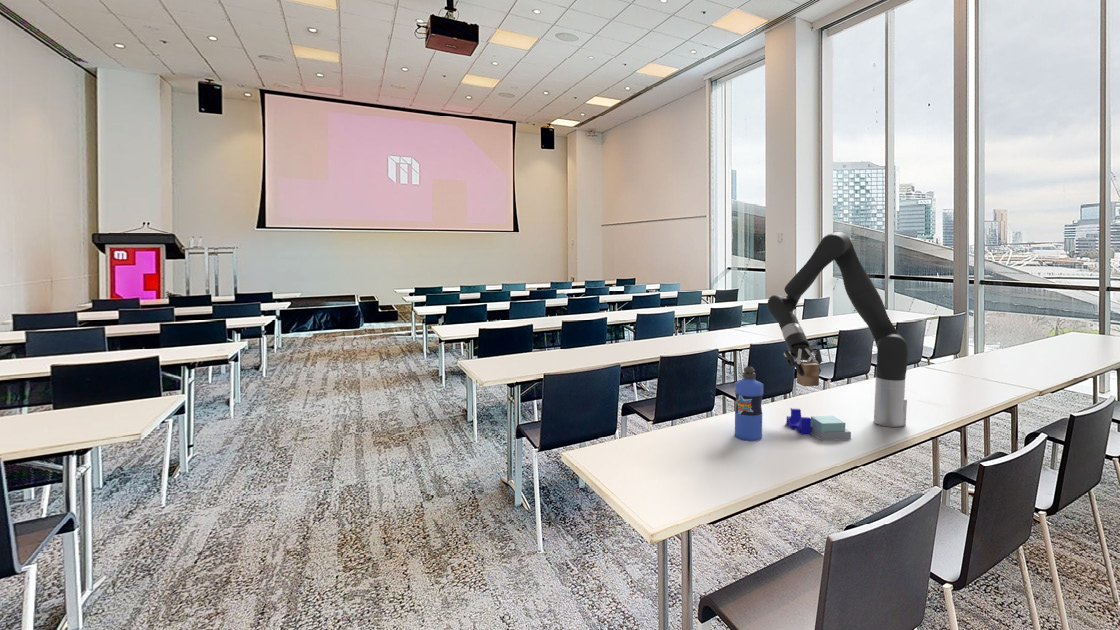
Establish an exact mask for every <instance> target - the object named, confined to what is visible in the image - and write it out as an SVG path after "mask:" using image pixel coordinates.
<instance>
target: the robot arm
mask: <svg viewBox="0 0 1120 630" xmlns="http://www.w3.org/2000/svg"><path fill="white" fill-rule="evenodd" d="M833 261H835V263H836V265H837V267H838V268H839V270H840V273H841V276H842V281H843V285H844V286H843V287H844V289H845V292H846V295H847V297H848V299H849V300H850V302H851V304H852V306H853V308H854V309H855V310H856V312H857V313H858V315H859V316H860V318H861V319H862V320H863V321H864V323H865V324H866V325H867V327H868V329H869V331H870V332H871V335H872V338H873V340H874V342H875V345H876V348H877V351H876V353H877V355H876V356H877V357H876V369H875V387H874V388H875V391H874V392H875V393H874V410H873V422H874V423H875V424H877V425H880V426H884V427H888V428H889V427H890V428H900V427H903V426H906V425H907V407H908V400H907V398H905V394H906V377H907V376H906V375H907V371H908V370H907V369H908V354H909V347H908V343H907V342H906V340H905V339H904V337H903V336H902V335H901V334H900V333H899V331H898V330H897V329H896V327H895V326H894V324H893V323H892V321H891V320H890V318H889V315H888V313H887V309H886V307H885V305H884V302H883V300H882V297H881V295H880V293H879V291H878V289H877V288H876V287H875V284H874V283H873V282H872V279H871V278H870V276H869V275H868V273H867V271H866V270H865V268H864V266H863V265H862V263H861V261H860V260H859V257H858V255H857V253H856V250H855V247H854V245H853V242H852V241H851V238H850V237H849V236H848V234H846V233H844V232H842V231H834V232H831V233H829V234H827V235H825V236H823V237H822V239H821V240H820V242H819V243H818V246H817V247H816V248H815V250H814V251H813V253H812V255H811V256H810V258H809V259H808V260H807V261H806V263H805V264H804V265H803V266H802V267H801V268H800V269H799V271H798V272H797V273H795V275H794V276H793V277H792V278H791V280H789V282H788V283H787V284H786V285H785V287H784V292H785V294H786V296H782V295H779V294H774V295H771V296H770V297H769V298H768V300H767V309H768V311H769V313H770V314H771V315H772V317H773V318H774V320H775V321H776V322H777V323H778V326H779V328H780V330H781V333H782V337H783V340H784V342H785V344H786V346H787V349H788V350H785V351H784V352H783V353H782V356H783V358H784V359H785V361H786V363H787V364H788V365H789V367H793V368H795V369H796V373H797V372H798V374H800V376H803V375H804V371H803V368H802V366H801V365H800V362H802V361H805V362H814V363H817V364H819V375H820V374H821V372H822V370H821V368H820V366H821V364H822V362H823V358H822V354H821V350H820V349H819V348H817V349H813V348H811V347H810V344H809V341H808V338H807V336H806V334H805V331H804V329H803V328H802V326H801V325H800V322H799V319H798V317H797V316H796V314H794V313H793V312H794V310H795V309H796V306H797V305H798V303H799V302H800V298H801V297H802V296H803V295H804V294H805V292H806V291H807V290H808V289H810V287H811V286H812V285H813V283H814V282H815V280H816V279H817V278H818V276H820V275H819V274H820V273H821V272H822V271H823V270H824V269H825V268H826V267H827V266H829V264H831V263H832V262H833Z"/></svg>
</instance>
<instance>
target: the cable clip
mask: <svg viewBox="0 0 1120 630" xmlns="http://www.w3.org/2000/svg"><path fill="white" fill-rule="evenodd" d="M786 425H788V427H789V428H790V429H791V430H796V431H797V432H798V433H799V434H800V435H802V436H805V435H806V436H807V435H811V433H810V428H811V416H809V417H808V416H802V410H801V409H800V408H790V415H789V416H787V415H786Z"/></svg>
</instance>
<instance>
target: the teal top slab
mask: <svg viewBox="0 0 1120 630" xmlns="http://www.w3.org/2000/svg"><path fill="white" fill-rule="evenodd" d="M810 418H811V425H812V426H813V427H815V428H817V429H818V430H820V431H821V432H838V431H845V429H846V422H845V421H844V420H842V419H840V418H838V417H836V416H834V415H818V416H817V415H816V416H810Z"/></svg>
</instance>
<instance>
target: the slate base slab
mask: <svg viewBox="0 0 1120 630" xmlns="http://www.w3.org/2000/svg"><path fill="white" fill-rule="evenodd" d="M810 435H813V436H814V437H816V438H818V439H820V440H822V441H838V440H839V441H841V440H851V438H852V431H850V430H848V429H846V428H845V431H838V432H821V431H820V430H818V429H817V428H815V427H813V426H812V425H811V428H810Z"/></svg>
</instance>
